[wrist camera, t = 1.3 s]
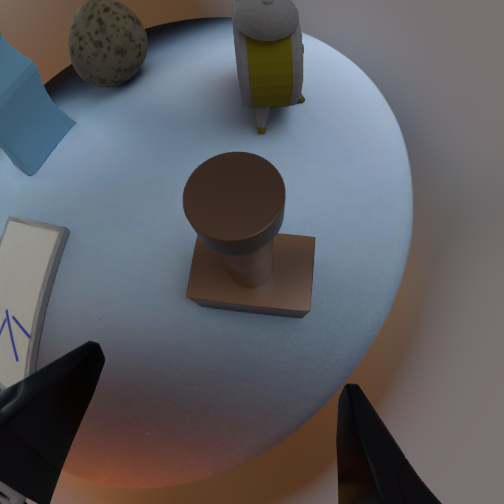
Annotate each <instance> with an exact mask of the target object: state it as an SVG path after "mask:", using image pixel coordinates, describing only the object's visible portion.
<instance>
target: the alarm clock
mask: <svg viewBox="0 0 504 504" xmlns="http://www.w3.org/2000/svg"><path fill="white" fill-rule="evenodd" d="M232 21H233V34H234V44H235V54H236V63H237V71H238V79H239V87H240V93H241V99H242V103H243V105H244V106H245V107H247V108H254V109H255V115H256V122H257V129H258V133H259V134H265V130H266V126H267V122H268V117H269V113H270V109H271V107H286V106H289V105H295V104H296V103H298V101H299V102H304V101H305V98H304V97H303V95H302V94H301V90H302V83H303V53H304V46H303V44H302V34H301V30H300V25H299V15H298V10H297V8H296V7H295V5H294V4H293V2H292V1H291V0H236V1H235V2H234V3H233V4H232Z"/></svg>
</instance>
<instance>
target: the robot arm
mask: <svg viewBox="0 0 504 504" xmlns="http://www.w3.org/2000/svg"><path fill="white" fill-rule="evenodd" d="M104 363H105V357H104V354H103V352H102V349H101V347H100V345H99V344H98V343H96V342H93V341H88V342H86V343H85V344H83V345H81V346H79V347H78V348H76V349H74V350H72V351H71V352H69V353H67V354H65V355H64V356H62V357H60V358H59V359H57V360H55V361H53V362H52V363H50V364H48V365H46V366H45V367H43V368H41V369H40V370H38V371H36V372H34V373H33V374H31V375H29V376H28V377H26V378H24V379H23V380H21V381H19V382H17V383H15V384H14V385H12V386H10V387H8V388H6V389H4V390H2V391H0V504H27V503H26V502H25V501H26V499H27V498H28V499H31V500H32V501H34V502H36V503H37V504H50V501H51V499H52V496H53V493H54V490H55V487H56V484H57V481H58V479H59V476H60V473H61V470H62V468H63V465H64V462H65V460H66V457H67V455H68V452H69V450H70V447H71V445H72V442H73V440H74V437H75V435H76V433H77V430H78V428H79V426H80V423H81V421H82V419H83V417H84V414H85V412H86V410H87V408H88V405H89V403H90V401H91V399H92V397H93V394H94V392H95V389H96V386H97V383H98V380H99V377H100V374H101V372H102V369H103V366H104ZM336 445H337V464H338V500H339V501H338V504H442V503H441V502H440V501H439V500H438V499H437V498H436V497H435V496H434V494H433V493H432V492H431V491H430V489H428V487H427V486H426V485H425V484H424V482H423V481H422V480H421V479H420V477H419V476H418V475H417V473H416V472H415V470H414V469H413V467H412V466H411V464H410V463H409V461H408V460H407V459H406V458H405V455H404V454H403V452H402V451H401V449H400V448H399V446H398V444H397V443H396V441H395V440H394V438H393V437H392V435H391V434H390V432H389V431H388V429H387V428H386V426H385V425H384V423H383V422H382V420H381V419H380V417H379V416H378V414H377V412H376V411H375V410H374V408H373V406H372V405H371V404H370V402H369V400H368V399H367V398H366V396H365V394H364V393H363V391H362V390H361V388H360V387H359V386H358V385H357V384H346V385H345V386H344V388H343V390H342V392H341V395H340V397H339V401H338V419H337V436H336Z"/></svg>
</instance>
